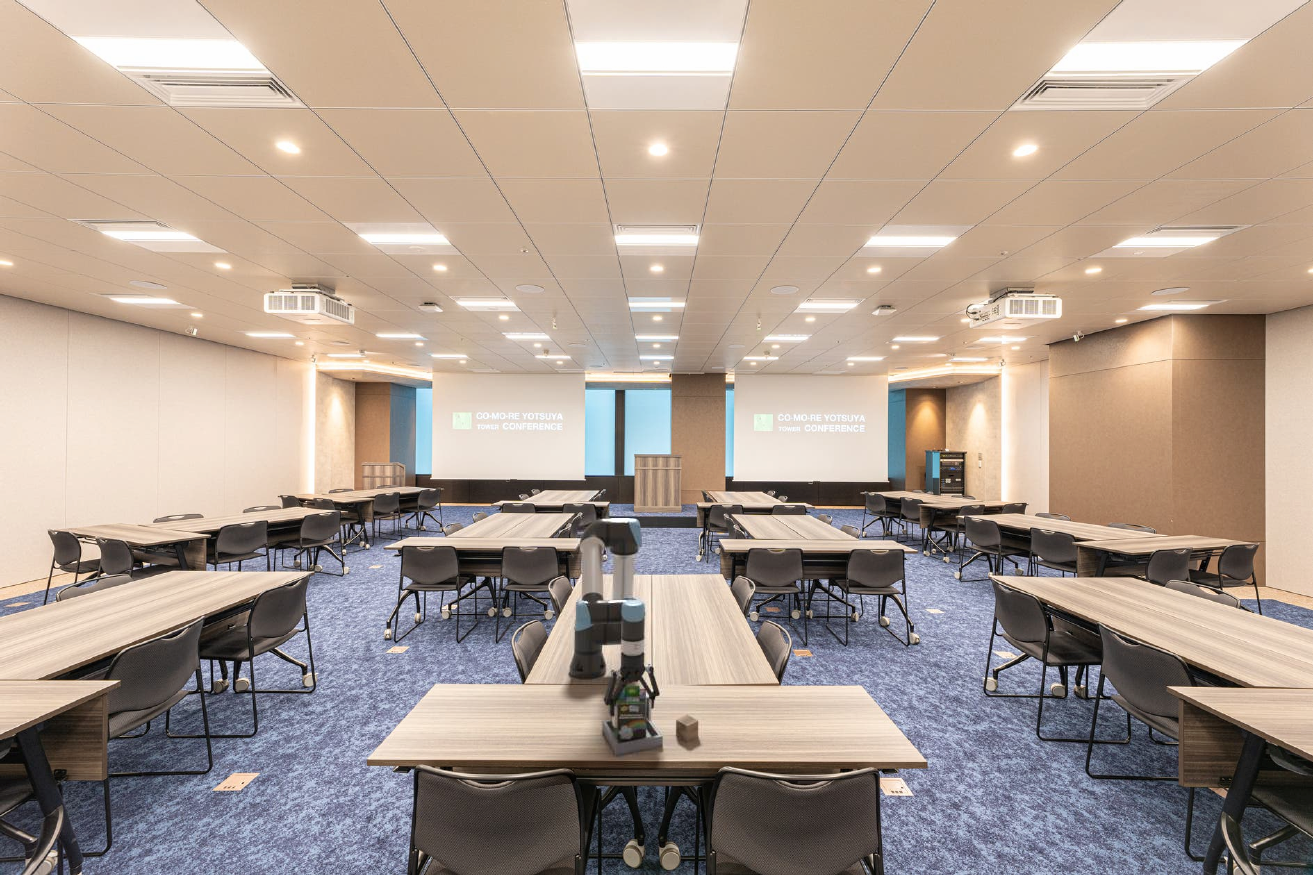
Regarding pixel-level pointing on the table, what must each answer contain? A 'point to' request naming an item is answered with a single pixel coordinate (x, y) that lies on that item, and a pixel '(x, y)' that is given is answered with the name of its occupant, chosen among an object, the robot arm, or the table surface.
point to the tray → (629, 745)
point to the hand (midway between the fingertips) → (631, 722)
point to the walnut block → (687, 728)
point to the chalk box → (631, 713)
